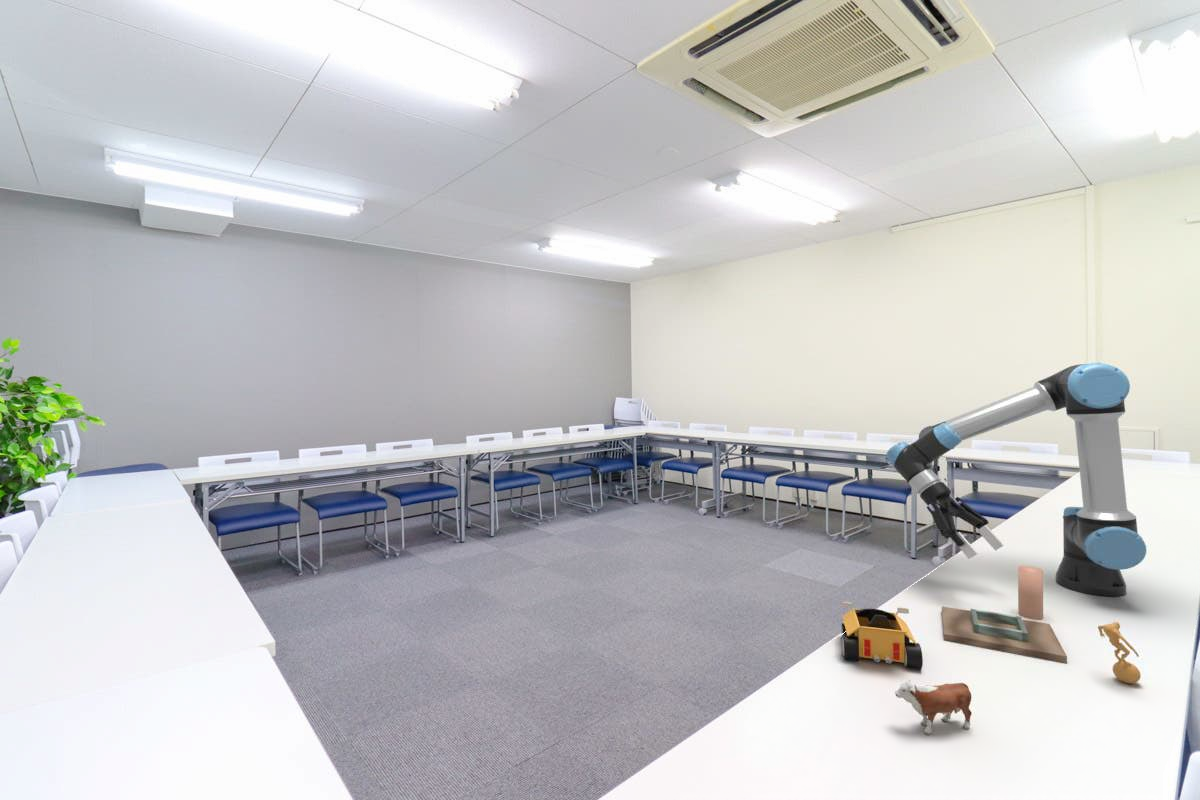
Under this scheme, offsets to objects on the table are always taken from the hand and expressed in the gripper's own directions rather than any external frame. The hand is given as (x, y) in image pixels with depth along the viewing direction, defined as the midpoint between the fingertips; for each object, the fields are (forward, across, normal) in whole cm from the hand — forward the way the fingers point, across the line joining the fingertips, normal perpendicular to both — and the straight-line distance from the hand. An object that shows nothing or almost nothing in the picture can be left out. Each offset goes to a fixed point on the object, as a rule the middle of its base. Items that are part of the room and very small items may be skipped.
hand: (987, 551), depth 146 cm
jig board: (+18, +19, -2) cm, 26 cm away
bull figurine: (+26, +66, +6) cm, 71 cm away
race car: (+12, +51, -9) cm, 53 cm away
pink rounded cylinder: (+17, 0, -3) cm, 17 cm away
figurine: (+34, +21, +14) cm, 42 cm away
